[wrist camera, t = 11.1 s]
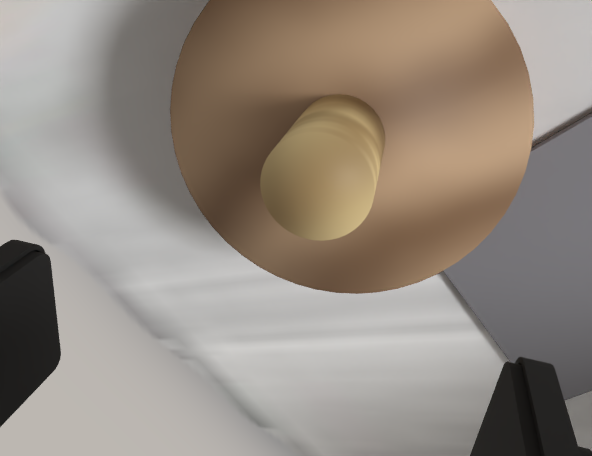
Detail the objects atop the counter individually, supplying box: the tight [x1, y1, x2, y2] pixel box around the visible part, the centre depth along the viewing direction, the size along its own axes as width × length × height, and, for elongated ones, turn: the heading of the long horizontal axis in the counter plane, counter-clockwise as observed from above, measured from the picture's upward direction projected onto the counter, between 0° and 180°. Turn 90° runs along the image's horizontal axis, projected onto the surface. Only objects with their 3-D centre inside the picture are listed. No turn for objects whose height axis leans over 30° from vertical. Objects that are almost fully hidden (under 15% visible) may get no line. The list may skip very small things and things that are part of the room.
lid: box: [170, 0, 534, 294], centre depth 22 cm, size 16×16×7 cm
